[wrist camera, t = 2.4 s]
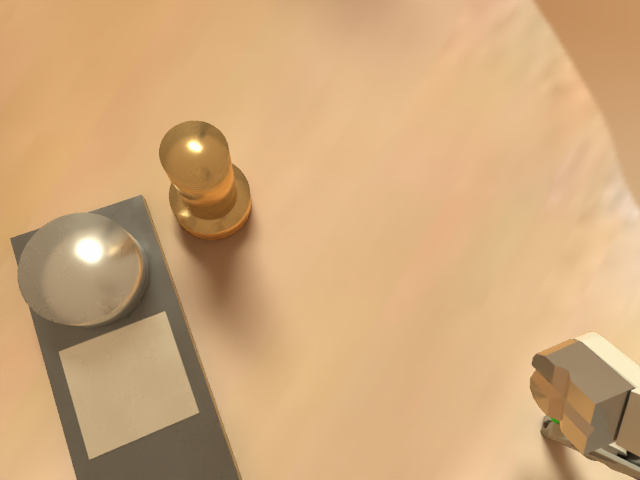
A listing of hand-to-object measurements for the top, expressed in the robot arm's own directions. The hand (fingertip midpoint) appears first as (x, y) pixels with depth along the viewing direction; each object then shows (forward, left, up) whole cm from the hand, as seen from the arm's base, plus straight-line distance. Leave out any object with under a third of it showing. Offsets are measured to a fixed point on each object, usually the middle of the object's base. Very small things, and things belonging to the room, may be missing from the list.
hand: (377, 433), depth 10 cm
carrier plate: (+6, +11, -23) cm, 26 cm away
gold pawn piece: (+15, +2, -23) cm, 27 cm away
